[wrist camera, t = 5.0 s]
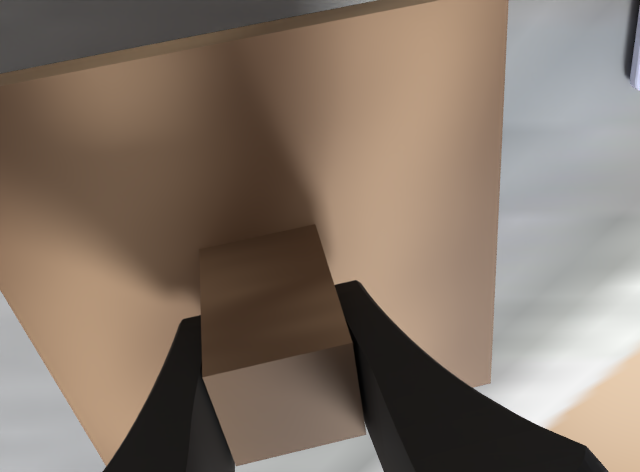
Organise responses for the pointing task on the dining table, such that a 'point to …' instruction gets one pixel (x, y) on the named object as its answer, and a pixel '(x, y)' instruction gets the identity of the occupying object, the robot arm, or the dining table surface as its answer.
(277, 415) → the lid
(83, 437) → the dining table surface
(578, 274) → the dining table surface
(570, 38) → the dining table surface
